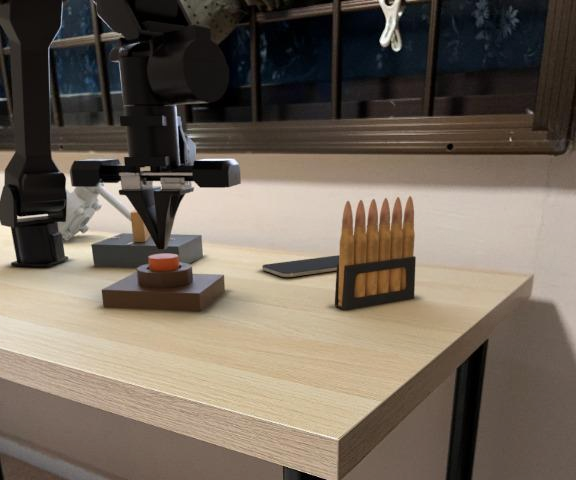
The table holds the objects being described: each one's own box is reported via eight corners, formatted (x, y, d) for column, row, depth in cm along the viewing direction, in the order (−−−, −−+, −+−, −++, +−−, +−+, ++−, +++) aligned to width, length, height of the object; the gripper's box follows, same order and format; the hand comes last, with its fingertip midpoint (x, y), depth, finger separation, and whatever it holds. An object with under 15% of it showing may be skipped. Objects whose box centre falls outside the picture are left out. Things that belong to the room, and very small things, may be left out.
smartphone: (369, 262, 92) (285, 273, 84) (369, 266, 92) (285, 278, 85) (340, 254, 98) (259, 264, 90) (340, 259, 98) (259, 269, 90)
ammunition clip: (343, 310, 70) (345, 202, 65) (334, 306, 72) (336, 200, 67) (414, 297, 75) (421, 196, 70) (404, 294, 76) (411, 195, 72)
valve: (110, 293, 117) (148, 236, 110) (28, 224, 115) (61, 160, 108) (136, 278, 126) (173, 224, 118) (60, 213, 124) (93, 153, 116)
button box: (103, 307, 72) (99, 274, 70) (138, 288, 81) (135, 258, 80) (200, 312, 70) (198, 277, 68) (225, 291, 79) (223, 260, 77)
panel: (94, 267, 94) (90, 243, 93) (124, 254, 104) (122, 232, 103) (180, 269, 92) (178, 245, 90) (203, 256, 102) (201, 233, 100)
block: (145, 242, 94) (142, 210, 92) (133, 242, 94) (130, 210, 92) (151, 235, 100) (148, 205, 98) (140, 235, 100) (137, 205, 98)
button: (144, 273, 73) (143, 258, 72) (156, 267, 76) (154, 253, 75) (173, 274, 72) (172, 259, 71) (183, 267, 75) (182, 253, 75)
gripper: (250, 107, 73) (254, 239, 79) (105, 110, 76) (119, 236, 82) (223, 103, 63) (230, 255, 69) (57, 106, 66) (78, 251, 72)
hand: (162, 249), depth 73 cm, fingers closed
